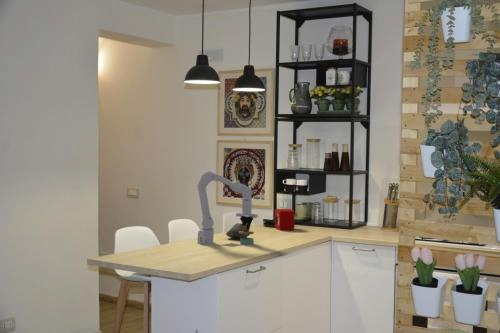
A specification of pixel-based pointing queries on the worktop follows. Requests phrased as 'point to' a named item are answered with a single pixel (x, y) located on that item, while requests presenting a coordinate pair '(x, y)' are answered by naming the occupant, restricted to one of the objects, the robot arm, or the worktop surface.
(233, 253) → the worktop surface
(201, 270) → the worktop surface
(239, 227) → the stone
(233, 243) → the mat
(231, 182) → the robot arm
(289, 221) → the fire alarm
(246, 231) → the lid
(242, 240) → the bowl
